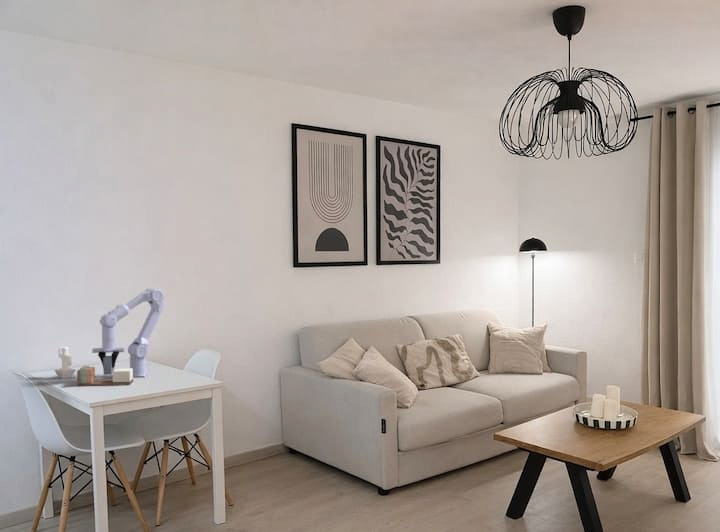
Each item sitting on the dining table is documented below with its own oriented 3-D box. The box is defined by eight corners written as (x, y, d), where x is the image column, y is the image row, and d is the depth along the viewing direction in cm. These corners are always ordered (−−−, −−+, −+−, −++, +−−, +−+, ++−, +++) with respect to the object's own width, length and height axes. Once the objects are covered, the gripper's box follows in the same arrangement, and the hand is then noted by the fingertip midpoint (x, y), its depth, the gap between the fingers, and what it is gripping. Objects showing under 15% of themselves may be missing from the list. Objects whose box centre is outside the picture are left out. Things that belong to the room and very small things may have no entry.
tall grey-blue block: (106, 372, 300) (106, 355, 300) (114, 371, 301) (114, 355, 301) (103, 374, 295) (103, 357, 294) (111, 374, 295) (111, 357, 295)
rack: (82, 382, 291) (82, 365, 291) (133, 381, 295) (133, 364, 295) (77, 386, 283) (77, 368, 283) (129, 384, 287) (129, 367, 287)
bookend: (116, 379, 293) (116, 368, 293) (132, 378, 294) (132, 368, 294) (112, 382, 286) (112, 371, 286) (129, 381, 287) (129, 371, 287)
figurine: (62, 379, 297) (62, 348, 296) (53, 377, 302) (52, 346, 302) (77, 377, 302) (76, 346, 302) (67, 374, 308) (67, 344, 308)
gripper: (90, 340, 292) (90, 369, 293) (122, 340, 294) (122, 368, 295) (94, 338, 299) (94, 366, 300) (125, 338, 301) (126, 365, 302)
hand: (108, 367), depth 298 cm, fingers closed on tall grey-blue block, 3 cm apart
